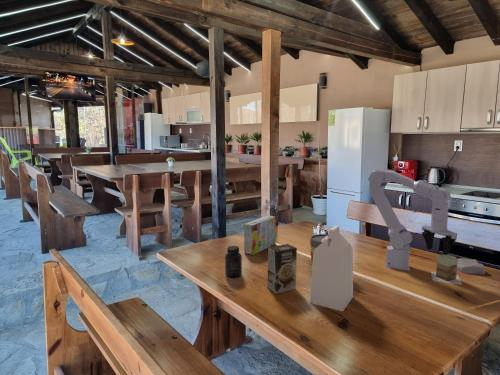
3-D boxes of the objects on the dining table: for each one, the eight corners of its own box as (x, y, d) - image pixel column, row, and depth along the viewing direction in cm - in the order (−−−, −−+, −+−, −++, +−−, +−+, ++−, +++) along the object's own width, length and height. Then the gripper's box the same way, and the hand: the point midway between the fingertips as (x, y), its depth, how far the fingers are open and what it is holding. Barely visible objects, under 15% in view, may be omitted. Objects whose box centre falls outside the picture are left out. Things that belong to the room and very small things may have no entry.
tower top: (447, 274, 136) (448, 266, 135) (436, 269, 140) (437, 262, 140) (456, 272, 138) (457, 264, 137) (445, 267, 142) (445, 260, 142)
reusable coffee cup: (345, 272, 146) (346, 238, 144) (329, 281, 137) (331, 245, 135) (319, 264, 155) (320, 232, 153) (303, 273, 146) (304, 238, 144)
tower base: (446, 281, 136) (447, 274, 136) (435, 276, 141) (436, 269, 140) (456, 279, 138) (456, 272, 138) (444, 274, 143) (445, 267, 142)
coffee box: (275, 294, 127) (276, 251, 124) (267, 287, 132) (267, 246, 130) (296, 289, 131) (297, 247, 128) (287, 282, 137) (287, 243, 134)
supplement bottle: (244, 273, 145) (244, 246, 143) (237, 280, 139) (237, 251, 137) (230, 271, 148) (229, 244, 146) (222, 277, 142) (221, 248, 140)
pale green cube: (447, 266, 135) (447, 259, 135) (437, 262, 140) (437, 255, 139) (455, 264, 137) (456, 257, 137) (445, 261, 141) (446, 253, 141)
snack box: (267, 242, 187) (267, 215, 185) (276, 244, 184) (276, 216, 182) (243, 253, 170) (243, 223, 168) (252, 255, 167) (252, 225, 165)
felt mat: (432, 281, 137) (432, 280, 137) (430, 272, 146) (430, 271, 146) (462, 286, 133) (462, 284, 133) (458, 276, 142) (458, 275, 142)
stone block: (461, 279, 144) (488, 276, 142) (459, 267, 144) (486, 264, 142) (450, 269, 156) (475, 266, 154) (449, 258, 156) (473, 255, 154)
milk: (342, 311, 114) (345, 234, 111) (309, 302, 121) (311, 229, 117) (353, 297, 125) (356, 226, 121) (322, 289, 131) (324, 221, 127)
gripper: (463, 221, 134) (461, 255, 136) (431, 214, 147) (429, 245, 149) (450, 223, 131) (448, 258, 133) (418, 215, 145) (417, 247, 146)
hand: (437, 251), depth 141 cm, fingers open, 7 cm apart
